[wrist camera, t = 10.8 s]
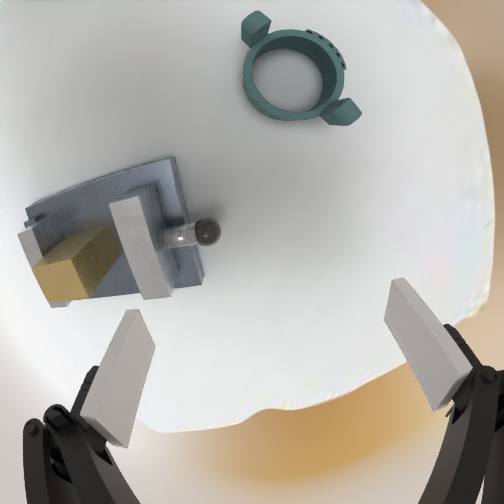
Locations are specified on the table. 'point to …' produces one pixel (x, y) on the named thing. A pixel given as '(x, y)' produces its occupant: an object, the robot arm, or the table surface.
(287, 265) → the table surface
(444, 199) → the table surface
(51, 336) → the table surface
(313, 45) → the bracket
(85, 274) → the brass block
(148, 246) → the free jaw
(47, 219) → the vise
